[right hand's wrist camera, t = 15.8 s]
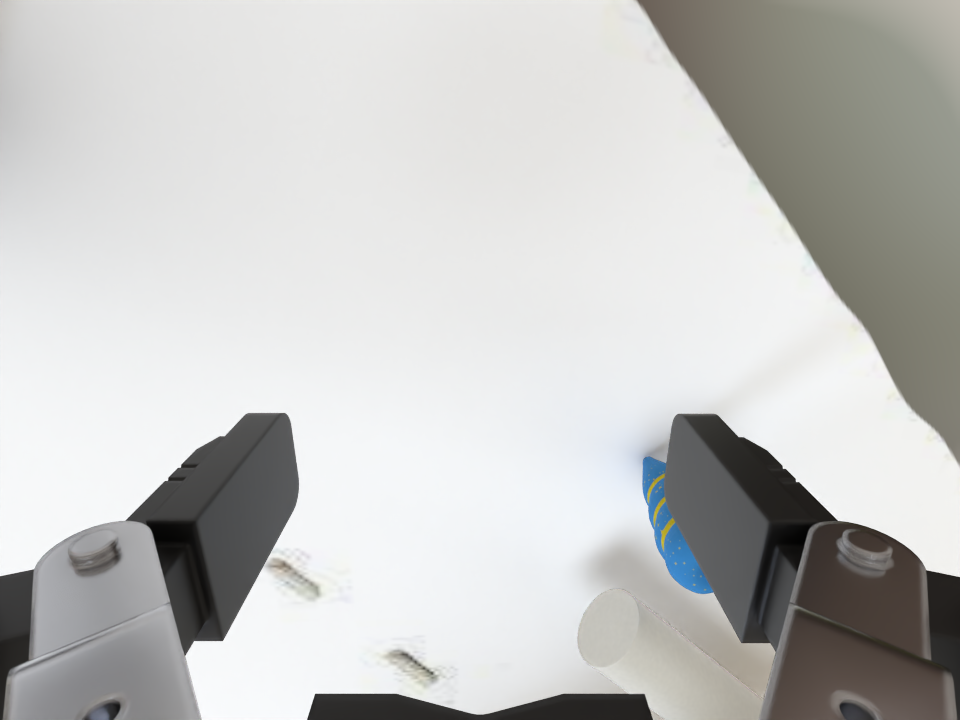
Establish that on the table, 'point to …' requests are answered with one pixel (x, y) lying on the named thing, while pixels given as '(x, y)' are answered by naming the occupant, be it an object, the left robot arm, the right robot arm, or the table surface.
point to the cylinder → (659, 663)
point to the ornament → (670, 531)
